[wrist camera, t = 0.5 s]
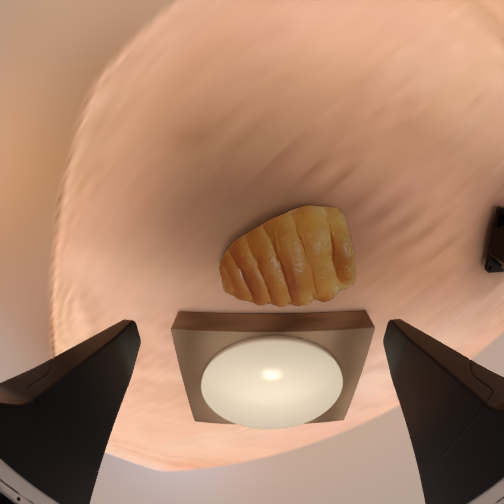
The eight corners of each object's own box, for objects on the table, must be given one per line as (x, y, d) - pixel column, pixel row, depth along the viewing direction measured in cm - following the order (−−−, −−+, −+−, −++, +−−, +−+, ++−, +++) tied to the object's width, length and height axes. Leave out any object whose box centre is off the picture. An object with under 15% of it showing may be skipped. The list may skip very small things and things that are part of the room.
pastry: (238, 306, 22) (233, 337, 18) (208, 229, 20) (196, 249, 16) (352, 276, 21) (367, 302, 17) (336, 192, 18) (353, 205, 15)
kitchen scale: (365, 310, 22) (377, 333, 19) (339, 403, 27) (345, 425, 24) (178, 311, 23) (168, 334, 20) (198, 404, 27) (193, 426, 24)
